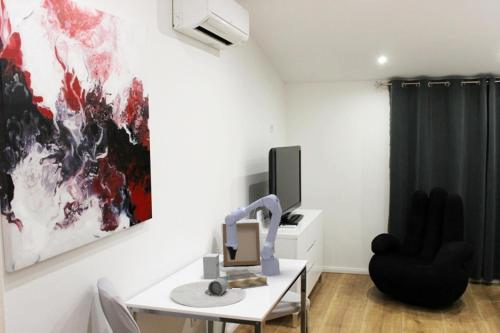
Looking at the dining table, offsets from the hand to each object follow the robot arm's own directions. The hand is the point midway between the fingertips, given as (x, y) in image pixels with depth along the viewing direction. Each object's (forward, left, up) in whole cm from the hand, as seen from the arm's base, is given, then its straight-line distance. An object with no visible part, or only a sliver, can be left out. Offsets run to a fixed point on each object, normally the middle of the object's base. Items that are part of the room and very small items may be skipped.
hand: (232, 259), depth 267 cm
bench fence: (0, +25, -7) cm, 26 cm away
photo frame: (-11, -19, -8) cm, 24 cm away
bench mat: (0, +18, -8) cm, 20 cm away
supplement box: (+13, +3, -8) cm, 16 cm away
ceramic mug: (+17, +32, -8) cm, 37 cm away
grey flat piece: (0, +11, -7) cm, 13 cm away
